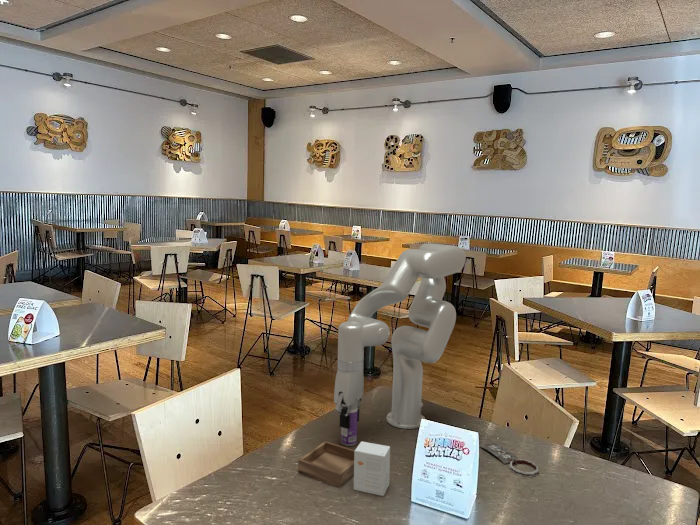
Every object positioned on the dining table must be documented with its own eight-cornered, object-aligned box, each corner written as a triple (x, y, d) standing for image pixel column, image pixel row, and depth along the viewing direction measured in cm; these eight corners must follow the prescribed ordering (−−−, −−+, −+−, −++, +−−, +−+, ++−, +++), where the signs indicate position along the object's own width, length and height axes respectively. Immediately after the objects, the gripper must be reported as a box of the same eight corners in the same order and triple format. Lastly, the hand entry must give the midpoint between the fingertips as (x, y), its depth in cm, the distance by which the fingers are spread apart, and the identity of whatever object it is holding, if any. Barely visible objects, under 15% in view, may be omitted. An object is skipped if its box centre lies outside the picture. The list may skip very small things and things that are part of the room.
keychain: (496, 444, 157) (497, 438, 157) (545, 475, 140) (545, 468, 140) (476, 448, 154) (476, 442, 154) (523, 481, 137) (523, 474, 137)
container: (357, 439, 156) (358, 391, 154) (356, 446, 152) (357, 397, 150) (342, 438, 157) (342, 390, 155) (340, 445, 152) (341, 396, 150)
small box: (389, 485, 132) (391, 446, 131) (383, 497, 127) (385, 456, 126) (359, 478, 135) (361, 440, 133) (352, 490, 130) (354, 450, 128)
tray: (324, 452, 148) (325, 440, 148) (365, 465, 142) (365, 453, 141) (298, 472, 137) (298, 460, 136) (340, 487, 130) (340, 474, 130)
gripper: (353, 354, 160) (352, 411, 163) (323, 370, 146) (323, 431, 148) (375, 359, 157) (373, 416, 159) (346, 375, 142) (345, 438, 144)
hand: (349, 423), depth 154 cm, fingers closed on container, 4 cm apart
